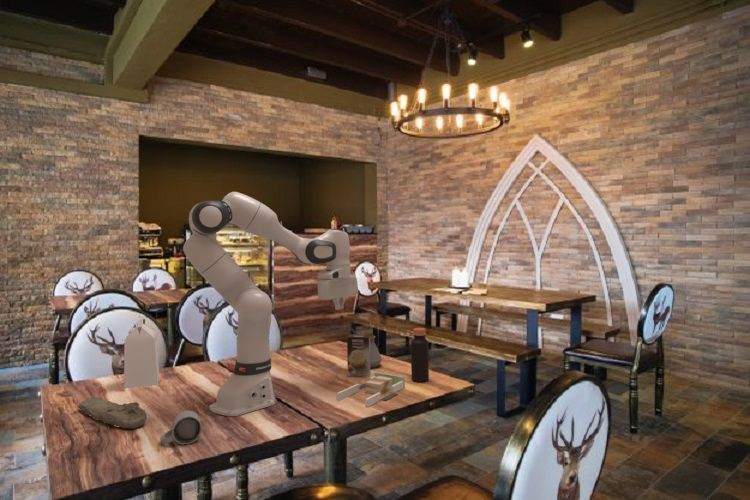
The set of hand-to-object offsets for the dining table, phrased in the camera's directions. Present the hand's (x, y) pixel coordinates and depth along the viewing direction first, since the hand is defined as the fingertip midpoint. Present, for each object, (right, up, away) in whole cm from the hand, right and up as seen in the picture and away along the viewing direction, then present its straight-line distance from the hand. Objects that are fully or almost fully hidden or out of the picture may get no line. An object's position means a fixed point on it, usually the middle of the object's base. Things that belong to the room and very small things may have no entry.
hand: (339, 309), depth 179 cm
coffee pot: (+8, -28, +32) cm, 44 cm away
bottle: (+31, -29, +7) cm, 43 cm away
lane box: (+12, -29, -8) cm, 33 cm away
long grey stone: (-71, -32, -27) cm, 82 cm away
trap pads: (+13, -29, -7) cm, 33 cm away
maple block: (+15, -29, -5) cm, 33 cm away
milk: (-77, -31, +7) cm, 83 cm away
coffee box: (+7, -29, +16) cm, 34 cm away
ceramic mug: (-41, -31, -45) cm, 69 cm away
